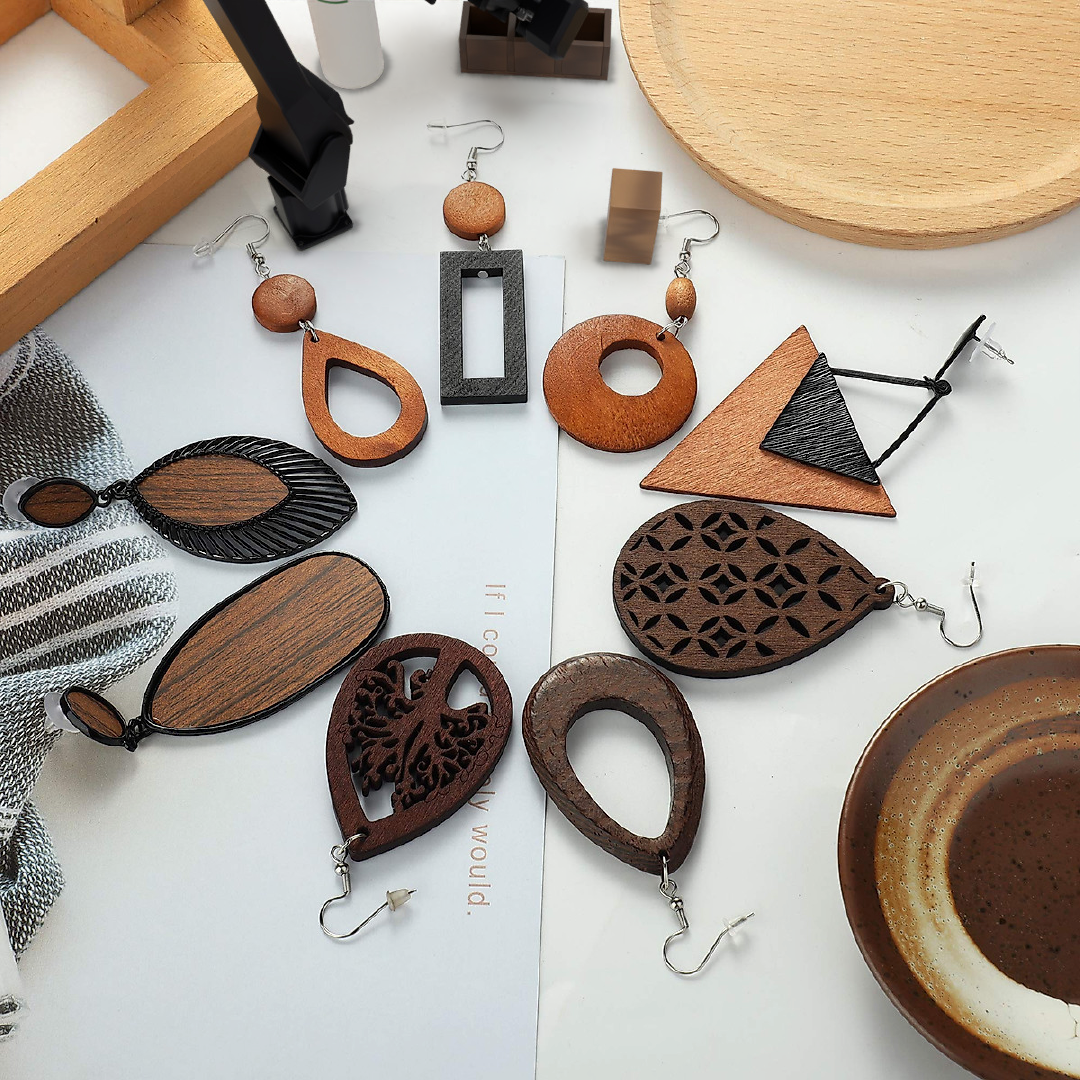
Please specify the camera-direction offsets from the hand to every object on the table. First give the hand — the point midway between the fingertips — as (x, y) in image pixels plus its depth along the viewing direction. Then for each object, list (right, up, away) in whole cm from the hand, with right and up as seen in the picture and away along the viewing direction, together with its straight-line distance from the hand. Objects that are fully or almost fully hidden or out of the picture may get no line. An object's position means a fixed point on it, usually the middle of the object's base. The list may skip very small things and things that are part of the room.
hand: (544, 11), depth 109 cm
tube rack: (-1, -3, +4) cm, 5 cm away
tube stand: (+9, -28, -6) cm, 30 cm away
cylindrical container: (-22, -5, +3) cm, 23 cm away
